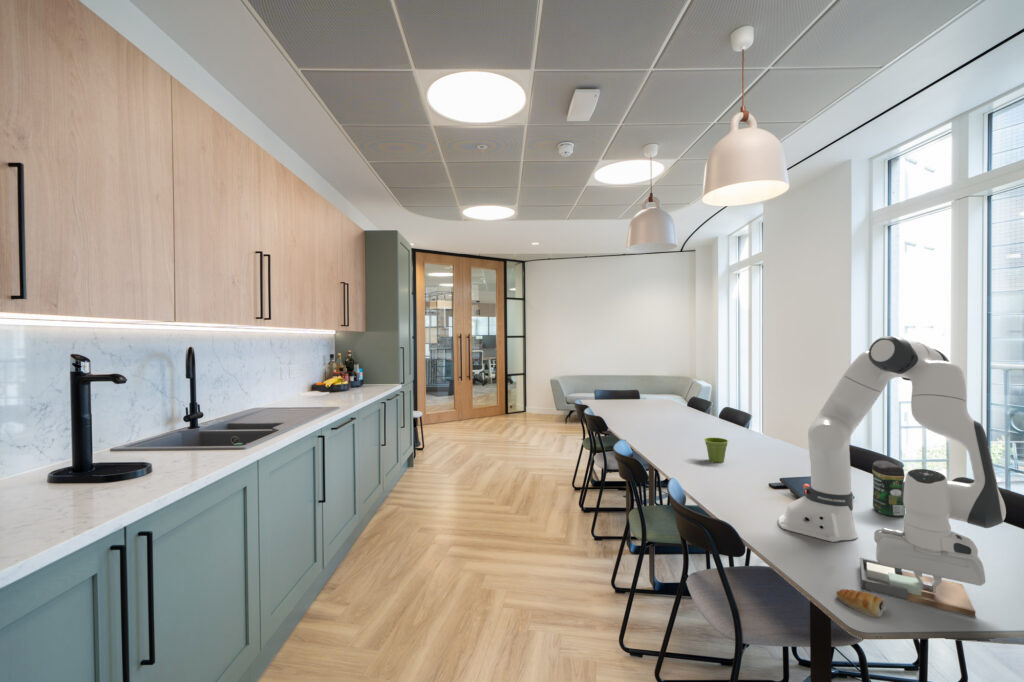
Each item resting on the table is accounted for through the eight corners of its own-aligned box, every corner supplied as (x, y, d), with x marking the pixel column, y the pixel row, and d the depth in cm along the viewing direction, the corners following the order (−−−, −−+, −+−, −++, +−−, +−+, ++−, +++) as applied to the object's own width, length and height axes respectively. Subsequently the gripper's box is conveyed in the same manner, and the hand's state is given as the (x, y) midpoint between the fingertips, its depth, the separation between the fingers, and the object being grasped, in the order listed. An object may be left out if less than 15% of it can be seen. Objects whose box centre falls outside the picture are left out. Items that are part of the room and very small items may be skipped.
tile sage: (890, 588, 116) (890, 580, 116) (888, 579, 120) (888, 572, 120) (921, 595, 112) (921, 587, 112) (918, 586, 116) (918, 578, 116)
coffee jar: (868, 507, 172) (867, 458, 172) (892, 508, 171) (891, 459, 170) (884, 517, 163) (883, 466, 162) (909, 518, 161) (908, 466, 161)
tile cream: (867, 576, 123) (867, 569, 123) (866, 568, 127) (866, 561, 127) (895, 583, 120) (895, 576, 120) (894, 575, 124) (894, 568, 124)
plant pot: (701, 461, 237) (701, 440, 237) (708, 456, 246) (708, 436, 246) (725, 465, 229) (725, 443, 229) (731, 460, 238) (731, 439, 238)
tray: (862, 589, 118) (862, 579, 118) (860, 566, 129) (860, 557, 129) (907, 600, 113) (907, 590, 113) (901, 575, 124) (901, 566, 124)
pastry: (832, 602, 113) (832, 587, 113) (841, 593, 117) (841, 578, 117) (879, 621, 106) (879, 604, 106) (887, 610, 110) (887, 594, 110)
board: (907, 600, 113) (907, 595, 113) (901, 575, 124) (901, 570, 124) (975, 616, 106) (975, 611, 106) (962, 588, 117) (962, 584, 117)
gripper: (875, 531, 117) (875, 583, 117) (987, 551, 105) (987, 610, 105) (873, 522, 122) (873, 573, 122) (980, 541, 110) (980, 597, 110)
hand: (927, 590), depth 114 cm, fingers closed
